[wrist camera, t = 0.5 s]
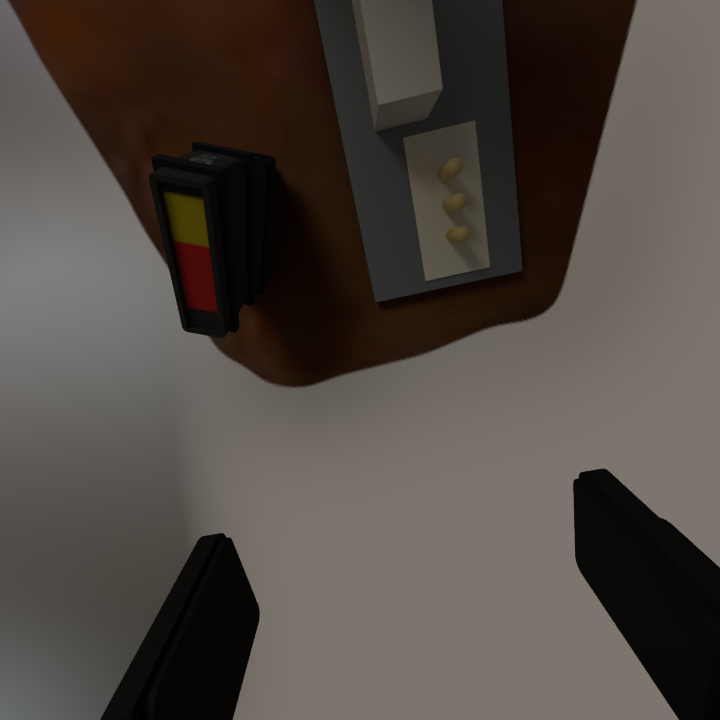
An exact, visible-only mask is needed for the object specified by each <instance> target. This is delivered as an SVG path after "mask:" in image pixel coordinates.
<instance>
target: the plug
mask: <svg viewBox="0 0 720 720" xmlns="http://www.w3.org/2000/svg"><path fill="white" fill-rule="evenodd" d="M352 5H353V11H354V17H355V22H356V28H357V34H358V39H359V45H360V50H361V56H362V62H363V67H364V73H365V79H366V84H367V90H368V95H369V101H370V107H371V112H372V118H373V124H374V129H375V131H379V130H383V129H387V128H391V127H395V126H399V125H403V124H407V123H411V122H415V121H419V120H423V119H427V118H428V116H429V114H430V112H431V110H432V108H433V106H434V104H435V103H436V101H437V99H438V97H439V95H440V93H441V91H442V89H443V87H442V79H441V71H440V62H439V54H438V46H437V38H436V30H435V22H434V14H433V6H432V0H352Z"/></svg>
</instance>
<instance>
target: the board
mask: <svg viewBox="0 0 720 720" xmlns="http://www.w3.org/2000/svg"><path fill="white" fill-rule="evenodd" d="M314 3H315V8H316V13H317V18H318V23H319V28H320V33H321V38H322V43H323V48H324V53H325V58H326V62H327V67H328V72H329V77H330V82H331V87H332V92H333V97H334V102H335V107H336V112H337V117H338V121H339V126H340V131H341V136H342V141H343V146H344V151H345V156H346V161H347V166H348V171H349V176H350V180H351V185H352V190H353V195H354V200H355V205H356V210H357V215H358V220H359V225H360V230H361V235H362V239H363V244H364V249H365V254H366V259H367V264H368V269H369V274H370V279H371V284H372V289H373V294H374V299H375V302H380V301H385V300H389V299H394V298H399V297H403V296H408V295H412V294H417V293H422V292H426V291H431V290H436V289H440V288H445V287H450V286H454V285H459V284H463V283H468V282H473V281H477V280H482V279H487V278H491V277H496V276H500V275H505V274H510V273H514V272H519V271H523V269H522V256H521V242H520V229H519V216H518V202H517V189H516V176H515V162H514V149H513V136H512V123H511V109H510V96H509V83H508V69H507V56H506V43H505V29H504V16H503V3H502V0H432V6H433V14H434V22H435V30H436V38H437V46H438V54H439V62H440V71H441V79H442V87H443V89H442V91H441V93H440V95H439V97H438V99H437V101H436V103H435V104H434V106H433V108H432V110H431V112H430V114H429V116H428V118H427V119H423V120H419V121H415V122H411V123H407V124H403V125H399V126H395V127H391V128H387V129H383V130H379V131H375V129H374V124H373V118H372V112H371V107H370V101H369V95H368V90H367V84H366V79H365V73H364V67H363V62H362V56H361V50H360V45H359V39H358V34H357V28H356V22H355V17H354V11H353V5H352V0H314Z"/></svg>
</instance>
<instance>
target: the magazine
mask: <svg viewBox="0 0 720 720" xmlns="http://www.w3.org/2000/svg"><path fill="white" fill-rule="evenodd" d="M192 151H193V152H190V153H185V154H183V155H181V156H179V157H178V158H176V157H171V156H166V155H161V154H157V155H155V156H153V157H152V158H151V160H152V164H153V169H154V172H153V173H151V174H150V175H149V182H150V186H151V191H152V195H153V199H154V204H155V208H156V213H157V217H158V222H159V226H160V231H161V235H162V239H163V244H164V248H165V253H166V257H167V262H168V266H169V270H170V275H171V279H172V283H173V287H174V292H175V297H176V301H177V306H178V310H179V315H180V319H181V324H182V328H183V329H184V330H185V331H187V332H191V333H197V334H202V335H208V336H213V337H219V338H224V337H225V336H226V334H227V332H228V331H230V332H237V330H238V328H239V316H238V312H239V311H240V309H241V307H242V306H243V305H244V304H246V305H253V303H254V293H257V294H264V293H265V282H266V271H267V262H268V252H269V242H270V233H271V223H272V213H273V203H274V194H275V184H276V174H277V170H276V167H275V159H274V158H273V157H272V156H267V155H262V154H257V153H253V152H248V151H243V150H238V149H233V148H228V147H221V146H217V145H212V144H207V143H202V142H194V143H192Z"/></svg>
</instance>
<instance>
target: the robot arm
mask: <svg viewBox="0 0 720 720" xmlns="http://www.w3.org/2000/svg"><path fill="white" fill-rule="evenodd" d="M573 492H574V528H575V558H576V562H577V565H578V568H579V570H580V572H581V573H582V575H583V576H584V578H585V579H586V581H587V583H588V584H589V585H590V587H591V588H592V590H593V591H594V593H595V594H596V596H597V597H598V599H599V600H600V602H601V603H602V605H603V606H604V608H605V609H606V611H607V612H608V614H609V615H610V617H611V618H612V620H613V621H614V623H615V624H616V626H617V627H618V629H619V630H620V632H621V633H622V635H623V636H624V638H625V639H626V641H627V642H628V644H629V645H630V647H631V648H632V650H633V651H634V653H635V654H636V656H637V657H638V659H639V660H640V662H641V663H642V665H643V666H644V668H645V669H646V671H647V672H648V674H649V675H650V677H651V678H652V680H653V681H654V683H655V684H656V686H657V687H658V689H659V690H660V692H661V693H662V695H663V696H664V698H665V699H666V701H667V702H668V704H669V705H670V707H671V708H672V710H673V711H674V713H675V714H676V716H677V717H678V719H679V720H720V567H718V566H717V565H716V564H715V563H714V562H713V561H712V560H711V559H710V558H708V557H707V556H706V555H705V554H704V553H703V552H702V551H701V550H700V549H698V548H697V547H696V546H695V545H694V544H693V543H692V542H691V541H690V540H689V539H688V538H686V537H685V536H684V535H683V534H682V533H681V532H680V531H679V530H678V529H676V528H675V527H674V526H673V525H672V524H671V523H669V522H668V521H667V520H664V519H662V518H660V517H658V516H657V515H656V514H655V513H654V512H652V510H650V509H649V508H648V507H647V506H646V505H645V504H644V503H643V502H642V501H641V500H639V499H638V498H637V497H636V496H635V495H634V494H633V493H632V492H631V491H630V490H629V489H628V488H627V487H625V486H624V485H623V484H622V483H621V482H620V481H619V480H618V479H617V478H616V477H615V476H613V475H612V474H611V473H610V472H609V471H608V470H606V469H597V470H591V471H585V472H581V473H580V474H579V479H575V480H574V483H573ZM259 613H260V611H259V606H258V603H257V601H256V598H255V596H254V593H253V591H252V589H251V586H250V583H249V581H248V578H247V576H246V573H245V571H244V568H243V566H242V563H241V561H240V558H239V556H238V554H237V551H236V549H235V546H234V543H233V541H232V539H231V538H226V536H225V535H224V534H223V533H219V534H214V535H208V536H203V537H201V538H200V539H199V540H198V541H197V543H196V545H195V547H194V549H193V551H192V552H191V554H190V556H189V558H188V560H187V562H186V563H185V565H184V567H183V569H182V571H181V573H180V574H179V576H178V578H177V580H176V582H175V584H174V585H173V587H172V589H171V591H170V593H169V595H168V596H167V598H166V600H165V602H164V604H163V605H162V607H161V609H160V611H159V613H158V615H157V616H156V618H155V620H154V622H153V624H152V626H151V627H150V629H149V631H148V633H147V635H146V637H145V638H144V640H143V642H142V644H141V646H140V648H139V649H138V651H137V653H136V655H135V657H134V659H133V660H132V662H131V664H130V666H129V668H128V670H127V672H126V673H125V675H124V677H123V679H122V680H121V682H120V684H119V686H118V688H117V690H116V692H115V693H114V695H113V697H112V699H111V701H110V702H109V704H108V706H107V708H106V710H105V712H104V714H103V715H102V717H101V720H232V719H233V716H234V712H235V709H236V705H237V701H238V697H239V694H240V690H241V686H242V683H243V679H244V675H245V671H246V667H247V664H248V660H249V656H250V653H251V649H252V645H253V642H254V638H255V634H256V630H257V627H258V623H259V616H260V614H259Z"/></svg>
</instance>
